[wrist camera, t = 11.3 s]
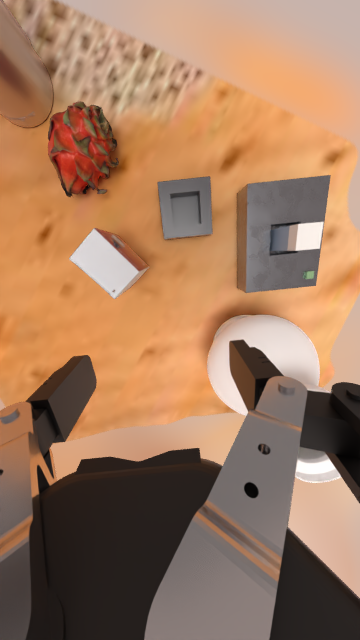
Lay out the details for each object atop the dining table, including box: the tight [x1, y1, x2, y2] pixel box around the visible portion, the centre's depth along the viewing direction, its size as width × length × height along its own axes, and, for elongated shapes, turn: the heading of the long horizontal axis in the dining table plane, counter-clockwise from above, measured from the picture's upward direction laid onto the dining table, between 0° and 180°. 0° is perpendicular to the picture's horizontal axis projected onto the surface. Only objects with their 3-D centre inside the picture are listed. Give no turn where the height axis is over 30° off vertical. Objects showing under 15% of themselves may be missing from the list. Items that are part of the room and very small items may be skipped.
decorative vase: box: [207, 315, 341, 483], centre depth 30 cm, size 18×18×25 cm
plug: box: [270, 222, 324, 251], centre depth 30 cm, size 3×3×10 cm
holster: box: [158, 176, 212, 240], centre depth 32 cm, size 8×8×3 cm
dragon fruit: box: [48, 102, 119, 197], centre depth 28 cm, size 8×8×12 cm
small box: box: [69, 228, 149, 299], centre depth 31 cm, size 8×6×10 cm
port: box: [237, 175, 330, 293], centre depth 33 cm, size 16×12×6 cm
